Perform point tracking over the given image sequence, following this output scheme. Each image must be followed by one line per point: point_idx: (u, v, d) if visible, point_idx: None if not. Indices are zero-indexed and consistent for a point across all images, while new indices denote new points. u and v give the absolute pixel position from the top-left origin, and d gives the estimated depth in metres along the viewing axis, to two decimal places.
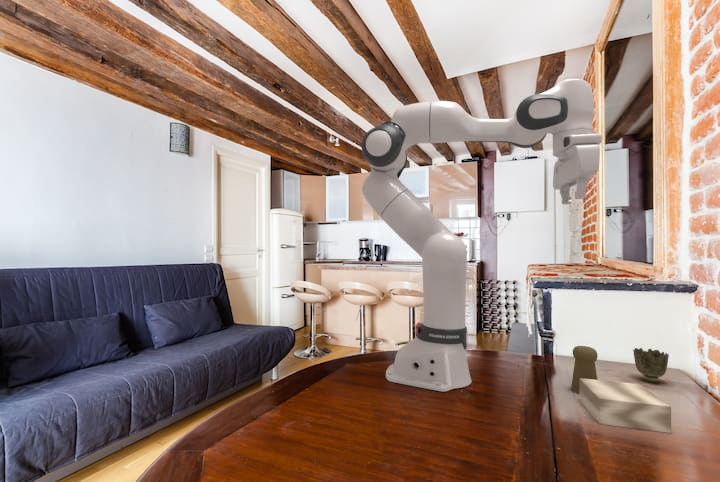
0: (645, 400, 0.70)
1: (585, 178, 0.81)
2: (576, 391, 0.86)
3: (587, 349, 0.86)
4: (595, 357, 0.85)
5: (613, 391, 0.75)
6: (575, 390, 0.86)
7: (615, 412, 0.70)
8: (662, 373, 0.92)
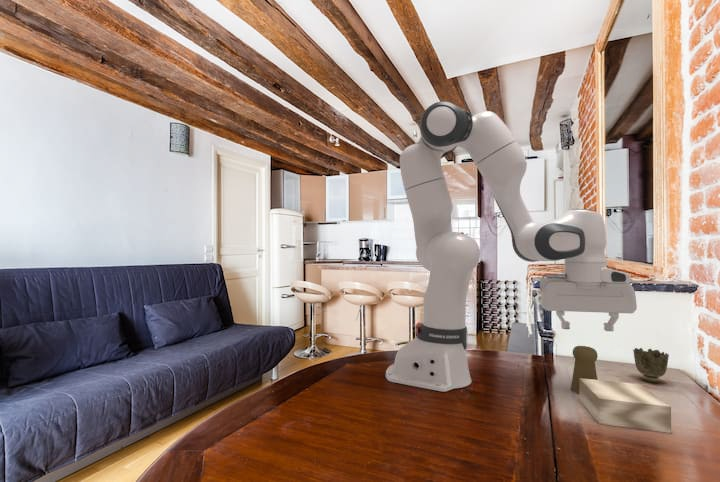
0: (645, 400, 0.70)
1: None
2: (576, 391, 0.86)
3: (587, 349, 0.86)
4: (595, 357, 0.85)
5: (613, 391, 0.75)
6: (575, 390, 0.86)
7: (615, 412, 0.70)
8: (662, 373, 0.92)
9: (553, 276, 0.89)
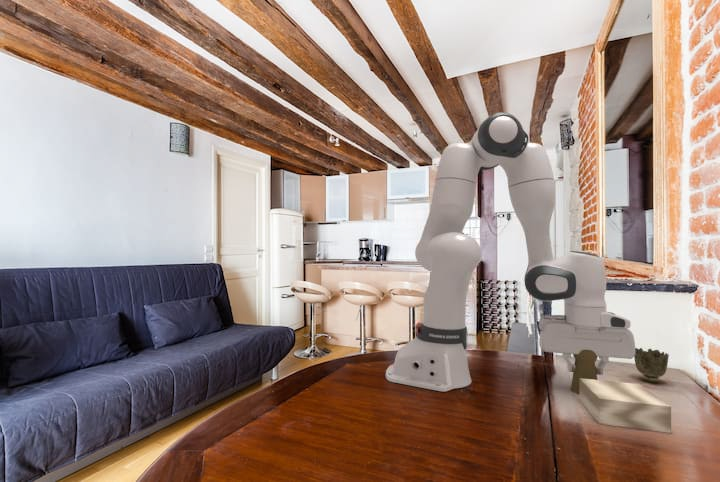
0: (645, 400, 0.70)
1: None
2: (576, 391, 0.86)
3: None
4: (595, 357, 0.85)
5: (613, 391, 0.75)
6: (575, 390, 0.86)
7: (615, 412, 0.70)
8: (662, 373, 0.92)
9: (552, 317, 0.89)
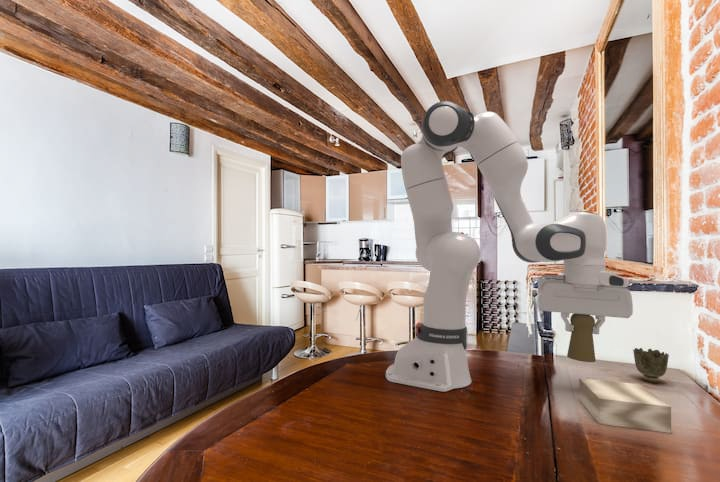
0: (645, 400, 0.70)
1: None
2: (573, 357, 0.86)
3: (585, 316, 0.86)
4: (593, 323, 0.85)
5: (613, 391, 0.75)
6: (572, 356, 0.86)
7: (615, 412, 0.70)
8: (662, 373, 0.92)
9: (551, 277, 0.90)
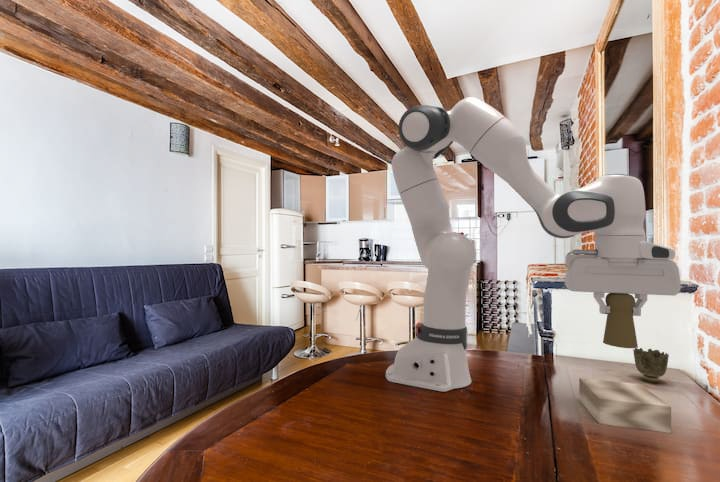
0: (645, 400, 0.70)
1: None
2: (611, 343, 0.74)
3: (624, 294, 0.74)
4: (633, 303, 0.73)
5: (613, 391, 0.75)
6: (610, 342, 0.74)
7: (615, 412, 0.70)
8: (662, 373, 0.92)
9: (581, 252, 0.77)
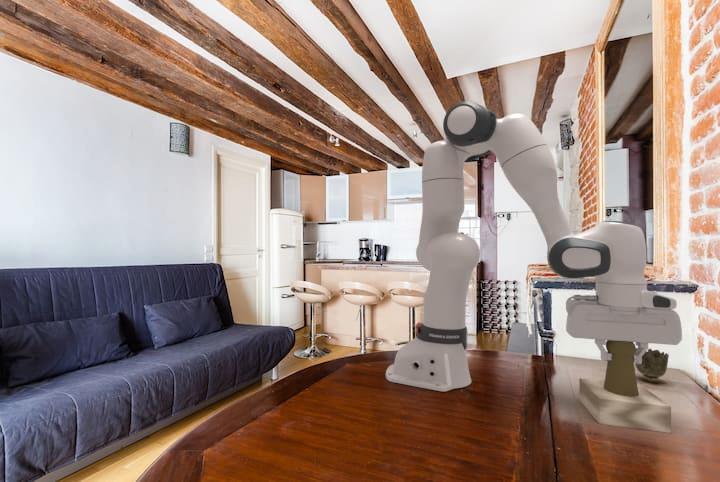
0: (645, 400, 0.70)
1: None
2: (612, 390, 0.74)
3: (624, 341, 0.73)
4: (634, 350, 0.73)
5: None
6: (611, 389, 0.74)
7: (615, 412, 0.70)
8: (662, 373, 0.92)
9: (582, 298, 0.77)
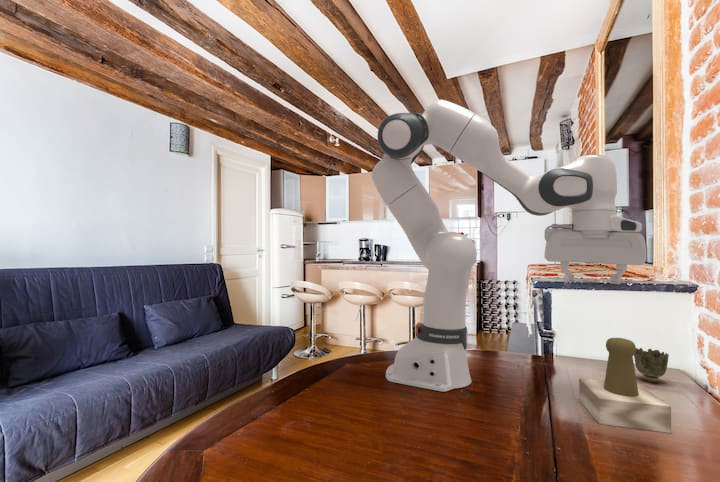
0: (645, 400, 0.70)
1: None
2: (612, 390, 0.74)
3: (624, 341, 0.73)
4: (634, 350, 0.73)
5: None
6: (611, 389, 0.74)
7: (615, 412, 0.70)
8: (662, 373, 0.92)
9: (559, 226, 0.85)
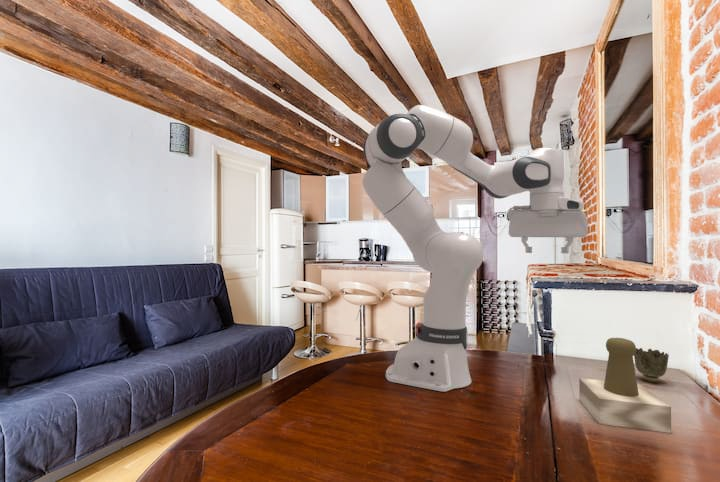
0: (645, 400, 0.70)
1: None
2: (612, 390, 0.74)
3: (624, 341, 0.73)
4: (634, 350, 0.73)
5: None
6: (611, 389, 0.74)
7: (615, 412, 0.70)
8: (662, 373, 0.92)
9: (519, 207, 1.03)
